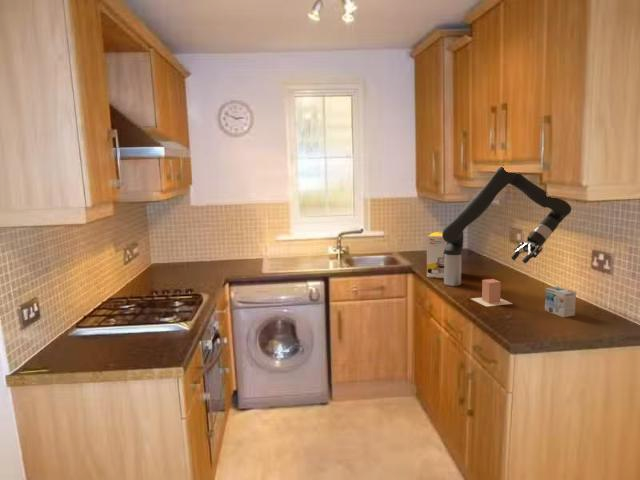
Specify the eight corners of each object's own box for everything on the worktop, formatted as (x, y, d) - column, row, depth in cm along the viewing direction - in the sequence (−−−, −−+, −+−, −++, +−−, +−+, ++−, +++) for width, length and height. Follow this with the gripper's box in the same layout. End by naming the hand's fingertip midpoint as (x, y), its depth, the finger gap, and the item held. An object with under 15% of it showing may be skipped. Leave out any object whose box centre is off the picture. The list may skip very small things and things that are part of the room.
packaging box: (459, 273, 287) (460, 233, 283) (454, 279, 273) (454, 236, 269) (433, 271, 295) (433, 232, 291) (426, 276, 280) (426, 235, 276)
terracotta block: (481, 299, 228) (482, 280, 226) (492, 298, 229) (493, 279, 228) (488, 303, 222) (489, 282, 221) (500, 302, 223) (500, 281, 222)
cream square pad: (470, 299, 231) (470, 298, 231) (495, 296, 234) (495, 295, 234) (486, 307, 218) (486, 306, 217) (512, 304, 221) (512, 303, 220)
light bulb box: (544, 310, 210) (545, 287, 208) (555, 308, 212) (556, 285, 211) (563, 317, 200) (565, 293, 199) (575, 315, 203) (576, 291, 201)
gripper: (525, 228, 232) (504, 253, 231) (545, 232, 218) (522, 258, 218) (534, 238, 234) (513, 262, 233) (554, 242, 220) (532, 268, 220)
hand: (518, 260), depth 225 cm, fingers open, 8 cm apart
